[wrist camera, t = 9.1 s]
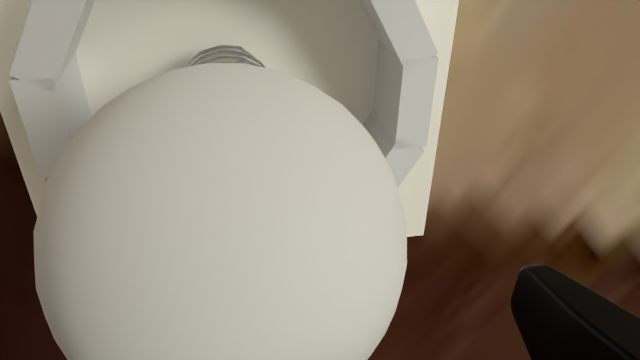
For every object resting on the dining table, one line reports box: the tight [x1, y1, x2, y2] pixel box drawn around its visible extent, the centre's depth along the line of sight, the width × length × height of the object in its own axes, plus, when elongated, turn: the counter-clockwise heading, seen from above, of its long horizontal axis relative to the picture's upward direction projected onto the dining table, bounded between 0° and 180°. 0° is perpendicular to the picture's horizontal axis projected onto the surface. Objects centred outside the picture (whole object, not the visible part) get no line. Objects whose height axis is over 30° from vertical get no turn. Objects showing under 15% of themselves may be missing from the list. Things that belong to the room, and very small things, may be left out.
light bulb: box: [33, 44, 407, 360], centre depth 12 cm, size 7×7×11 cm
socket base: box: [0, 0, 459, 237], centre depth 16 cm, size 14×14×4 cm
